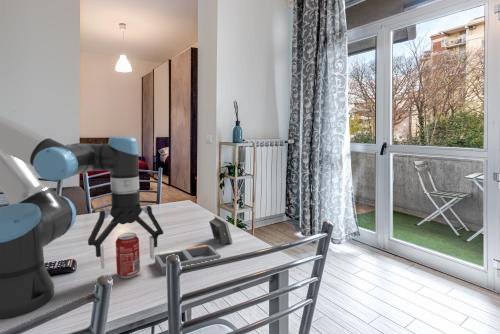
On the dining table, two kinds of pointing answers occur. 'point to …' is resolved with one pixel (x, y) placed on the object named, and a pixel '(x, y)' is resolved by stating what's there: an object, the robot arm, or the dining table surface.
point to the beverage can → (127, 255)
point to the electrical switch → (220, 230)
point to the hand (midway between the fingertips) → (128, 262)
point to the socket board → (187, 256)
